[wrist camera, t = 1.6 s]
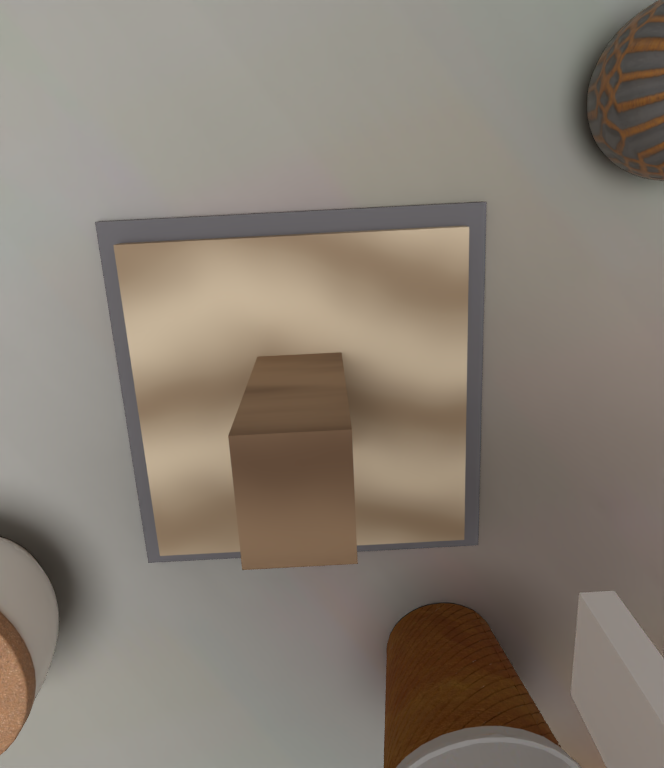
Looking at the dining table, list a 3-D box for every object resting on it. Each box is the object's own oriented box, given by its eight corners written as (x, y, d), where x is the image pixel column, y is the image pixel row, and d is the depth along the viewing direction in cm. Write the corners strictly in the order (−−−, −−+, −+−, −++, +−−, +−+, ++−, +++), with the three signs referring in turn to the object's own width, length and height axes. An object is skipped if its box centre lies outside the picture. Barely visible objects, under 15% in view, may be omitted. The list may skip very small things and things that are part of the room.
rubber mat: (476, 541, 35) (478, 545, 34) (150, 558, 35) (148, 562, 34) (484, 202, 29) (486, 202, 29) (98, 221, 29) (95, 222, 29)
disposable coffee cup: (538, 587, 36) (641, 776, 24) (501, 719, 38) (578, 946, 27) (372, 568, 35) (398, 753, 24) (347, 704, 38) (359, 928, 26)
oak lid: (460, 529, 34) (523, 683, 23) (164, 545, 34) (94, 706, 23) (464, 225, 29) (546, 246, 19) (120, 243, 29) (7, 274, 19)
